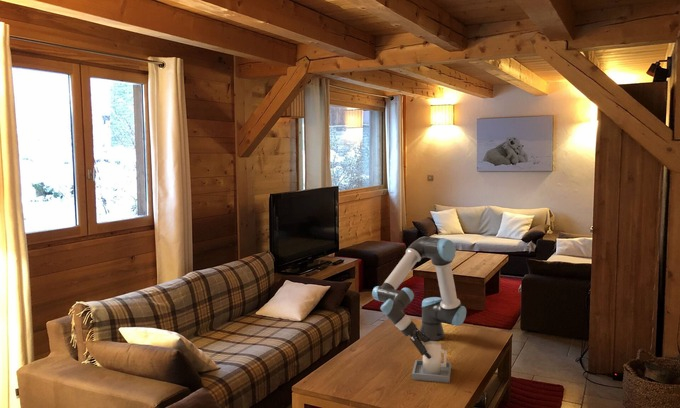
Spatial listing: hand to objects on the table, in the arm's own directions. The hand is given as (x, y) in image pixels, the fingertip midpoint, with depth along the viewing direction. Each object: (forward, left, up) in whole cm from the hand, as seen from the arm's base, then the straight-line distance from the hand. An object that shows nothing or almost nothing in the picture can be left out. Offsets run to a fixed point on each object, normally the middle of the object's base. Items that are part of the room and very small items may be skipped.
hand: (436, 357), depth 280 cm
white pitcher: (0, -1, -8) cm, 8 cm away
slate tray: (0, -2, -9) cm, 9 cm away
